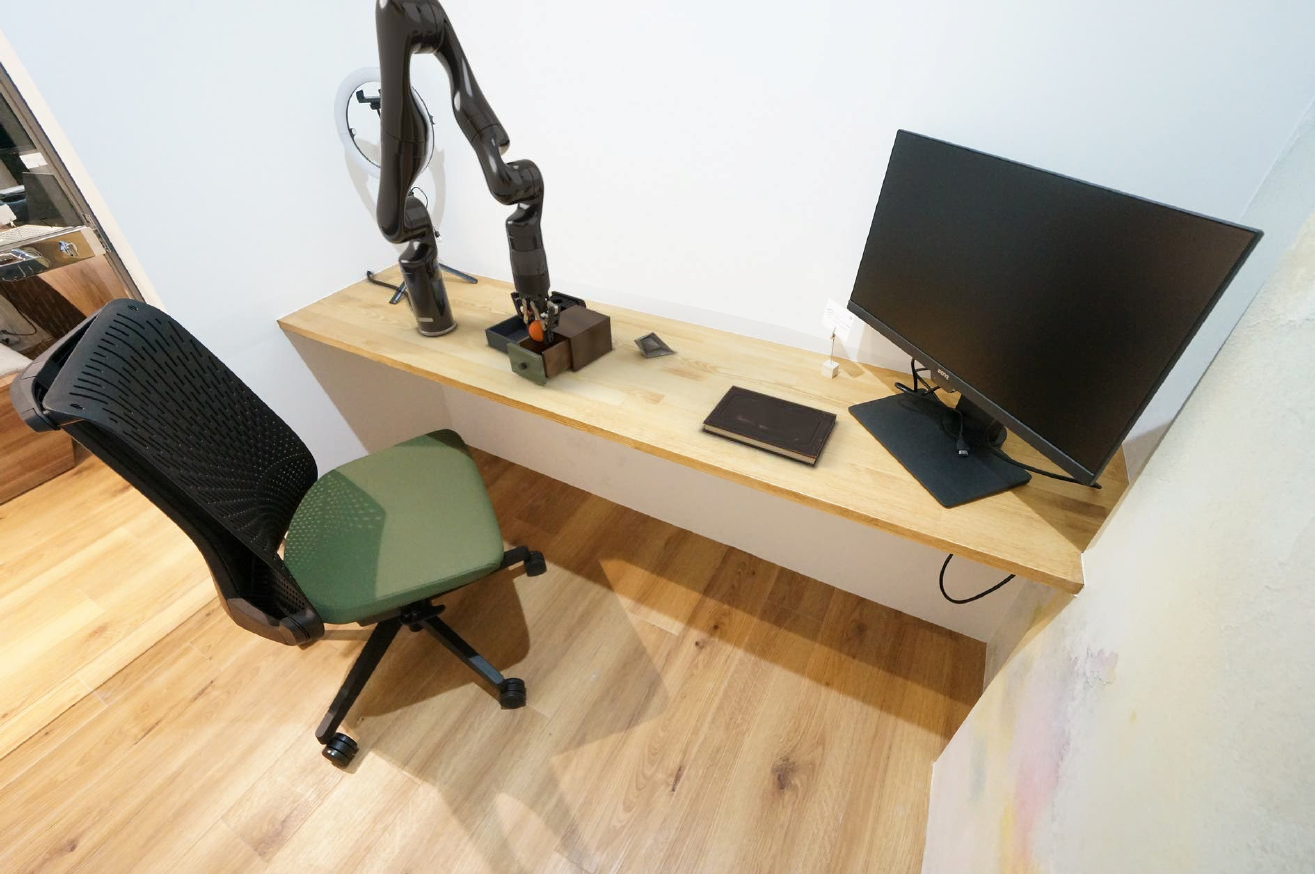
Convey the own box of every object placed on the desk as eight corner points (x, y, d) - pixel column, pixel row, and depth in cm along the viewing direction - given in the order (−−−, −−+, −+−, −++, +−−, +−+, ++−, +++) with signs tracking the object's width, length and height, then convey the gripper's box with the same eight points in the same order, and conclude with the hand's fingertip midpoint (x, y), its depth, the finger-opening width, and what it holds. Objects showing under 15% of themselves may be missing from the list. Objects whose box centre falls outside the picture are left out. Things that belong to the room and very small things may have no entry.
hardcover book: (813, 467, 99) (815, 457, 98) (702, 431, 108) (702, 422, 107) (835, 421, 110) (837, 413, 109) (732, 392, 119) (733, 383, 118)
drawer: (538, 388, 119) (533, 360, 115) (508, 373, 124) (502, 346, 120) (580, 363, 128) (577, 336, 123) (550, 350, 133) (546, 323, 128)
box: (488, 345, 137) (484, 329, 134) (522, 328, 144) (520, 313, 141) (524, 361, 130) (520, 345, 127) (558, 343, 137) (556, 327, 135)
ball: (526, 341, 121) (522, 321, 118) (541, 333, 124) (539, 314, 121) (540, 347, 119) (537, 327, 116) (556, 339, 122) (553, 319, 119)
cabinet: (574, 372, 126) (570, 338, 121) (541, 357, 132) (535, 324, 126) (612, 349, 135) (610, 316, 129) (579, 336, 140) (575, 304, 135)
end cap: (588, 318, 148) (585, 295, 144) (570, 328, 144) (568, 305, 140) (561, 310, 153) (558, 287, 149) (544, 319, 148) (540, 296, 144)
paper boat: (662, 336, 137) (686, 340, 131) (656, 361, 138) (680, 365, 131) (626, 324, 129) (651, 327, 122) (620, 350, 130) (644, 354, 123)
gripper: (493, 264, 112) (508, 337, 123) (539, 280, 105) (551, 356, 116) (520, 254, 117) (532, 325, 127) (566, 269, 110) (575, 342, 121)
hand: (541, 339), depth 122 cm, fingers closed on ball, 4 cm apart
